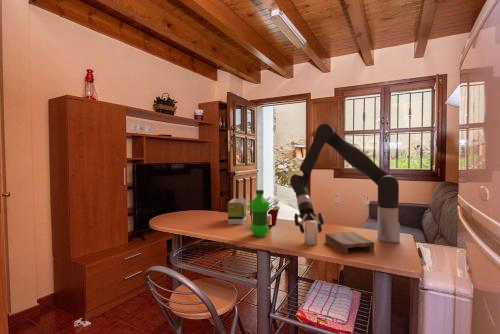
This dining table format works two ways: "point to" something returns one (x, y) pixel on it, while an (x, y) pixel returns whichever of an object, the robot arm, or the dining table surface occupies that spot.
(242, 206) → the tea box
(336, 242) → the shelf
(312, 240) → the beige upright block
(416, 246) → the dining table surface
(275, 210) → the plastic cup
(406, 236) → the dining table surface
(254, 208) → the plastic bottle
